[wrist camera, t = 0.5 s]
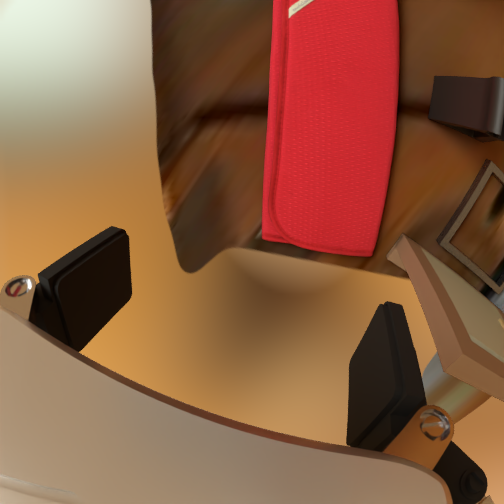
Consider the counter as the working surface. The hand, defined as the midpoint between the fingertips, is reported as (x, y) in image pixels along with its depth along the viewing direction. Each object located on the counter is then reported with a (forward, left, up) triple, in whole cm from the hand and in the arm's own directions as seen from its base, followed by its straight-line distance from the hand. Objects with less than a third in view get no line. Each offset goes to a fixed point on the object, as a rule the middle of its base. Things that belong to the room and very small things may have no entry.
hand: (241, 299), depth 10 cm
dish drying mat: (-11, -1, -30) cm, 32 cm away
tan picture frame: (+1, +29, -29) cm, 41 cm away
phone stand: (-19, +14, -29) cm, 37 cm away
